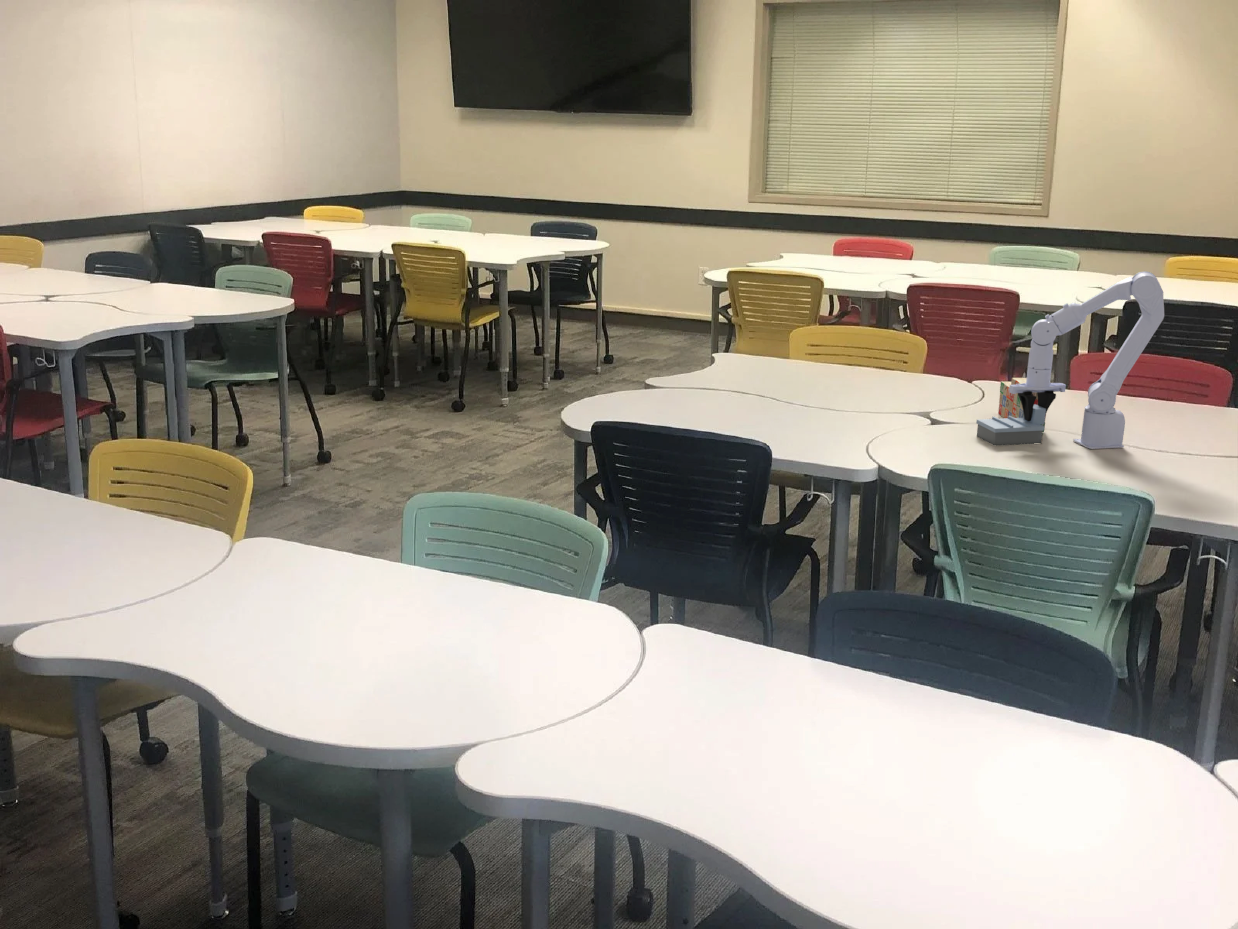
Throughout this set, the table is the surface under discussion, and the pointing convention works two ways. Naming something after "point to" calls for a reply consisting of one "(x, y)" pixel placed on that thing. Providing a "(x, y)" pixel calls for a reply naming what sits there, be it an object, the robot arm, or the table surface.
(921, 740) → the table surface
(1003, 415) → the stack of blocks
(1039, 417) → the lid
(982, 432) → the tub
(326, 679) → the table surface
